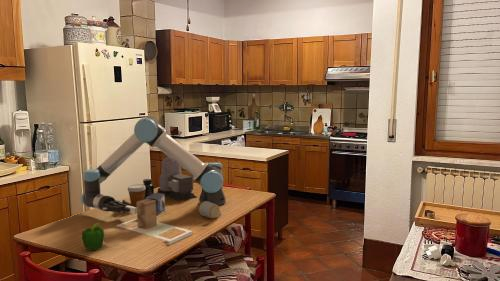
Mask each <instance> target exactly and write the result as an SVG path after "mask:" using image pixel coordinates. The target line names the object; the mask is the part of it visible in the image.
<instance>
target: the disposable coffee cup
mask: <svg viewBox="0 0 500 281" xmlns="http://www.w3.org/2000/svg"><path fill="white" fill-rule="evenodd" d="M145 189H146V187H145V185H143V183H142V184H138V183H136V184H130V185H128V187H127V191H128V196H129V200H130V201H129V203H131V204H132V207H137V202H138V201H141V200H144V195H145Z"/></svg>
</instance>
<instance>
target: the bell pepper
mask: <svg viewBox="0 0 500 281" xmlns="http://www.w3.org/2000/svg"><path fill="white" fill-rule="evenodd" d="M81 239H82V243H83V245H84V248H85V249H86V250H88V251H97V250H99V248H102V247H103V242H104V239H105V230H104V228H102V227H100V223H98V222H97V223H94V224H93V225H92V226H91V228H89V227H87V228H86V229H84V230H82V232H81Z"/></svg>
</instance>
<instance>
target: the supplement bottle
mask: <svg viewBox="0 0 500 281" xmlns="http://www.w3.org/2000/svg"><path fill="white" fill-rule="evenodd" d="M142 181H143V182H142V185H145V187H146V189H145V195H144V199H145V198H146V197H148V196H150V195H152V194H153V193H155V187H154V184H153V181H152V178H144V179H142Z"/></svg>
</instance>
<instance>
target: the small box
mask: <svg viewBox="0 0 500 281" xmlns="http://www.w3.org/2000/svg"><path fill="white" fill-rule="evenodd" d="M165 197H166V196H165V194H161V193H157V192H154V193H153V194H152V195H150V196H148V197H146V198H145V199H150V200H155V201H156V217H158V216H159V215H160V214H162V213H163V212H166V198H165Z"/></svg>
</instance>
